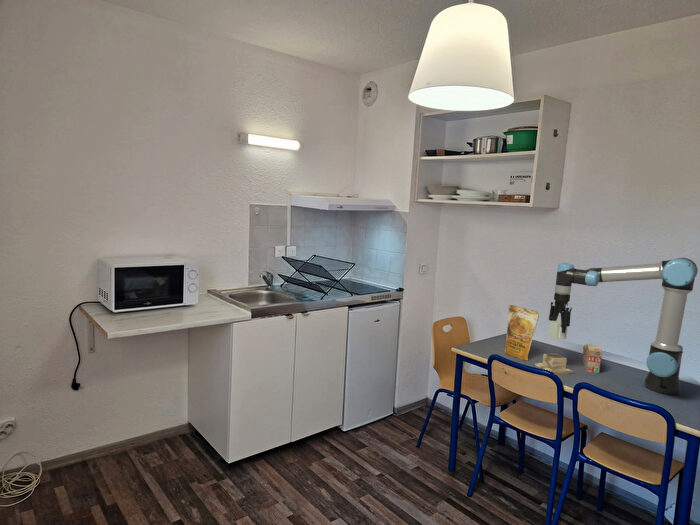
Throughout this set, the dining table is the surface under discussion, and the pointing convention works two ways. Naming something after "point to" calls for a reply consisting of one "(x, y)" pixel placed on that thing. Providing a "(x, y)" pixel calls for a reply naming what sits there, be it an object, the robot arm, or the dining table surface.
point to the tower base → (554, 364)
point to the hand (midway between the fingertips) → (557, 336)
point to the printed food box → (592, 358)
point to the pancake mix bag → (520, 331)
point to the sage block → (555, 329)
